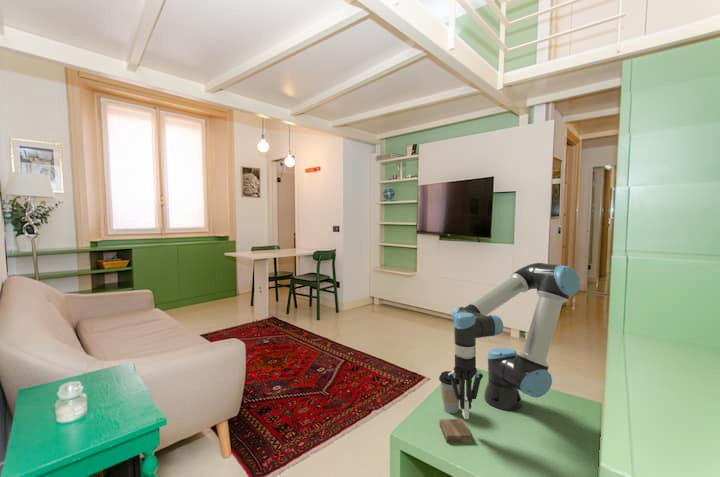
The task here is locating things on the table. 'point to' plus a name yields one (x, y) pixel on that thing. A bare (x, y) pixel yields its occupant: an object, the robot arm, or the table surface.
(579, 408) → the table surface
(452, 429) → the wooden block
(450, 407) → the coffee cup
